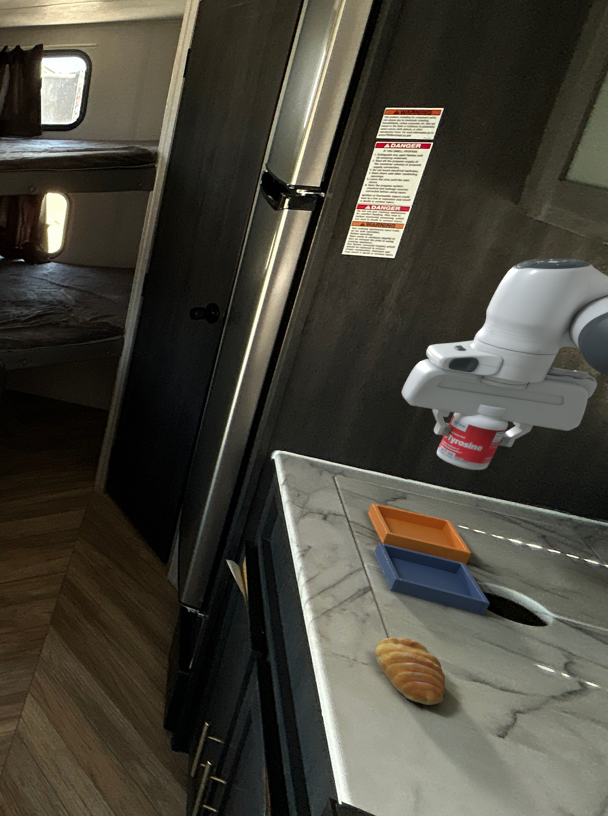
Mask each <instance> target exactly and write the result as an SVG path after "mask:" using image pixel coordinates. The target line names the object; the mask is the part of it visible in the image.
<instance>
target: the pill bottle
mask: <svg viewBox="0 0 608 816" xmlns="http://www.w3.org/2000/svg"><path fill="white" fill-rule="evenodd" d="M505 410H506V408H500V407H494V406H488V405H480V406H479V408H478V413H480V414H479V415H467V414H461V413H455V412H453V415H452V417H451V419H450V421H449V424H450V426H451V427H452V430H451V432H449V433H450V435H449V436H444V435H443V436H442V439H441V441H440V443H439V445H438V447H437V450H436V455H437V456H438V458H439V459H441V460H442V461H444V462H445V463H449V464H451V465H453V466H456V467H459V468H462V469H466V470H473V471H480V470H481V471H482V470H485V469H486V468H488V466H489V465H490V463H491V461H492V459H493V457H494V455H495V453H496V451H497V450H498V447H499V446H500V445H499V443H500V441H501V439H502V437H503V435H504V433H505V432H507V429H508V427H509V423H508V422H509V421H504V420H500V419H499V416H502V415H504V412H505Z"/></svg>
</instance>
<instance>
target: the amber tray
mask: <svg viewBox="0 0 608 816" xmlns="http://www.w3.org/2000/svg"><path fill="white" fill-rule="evenodd" d="M367 515H368V517H369V519H370V522H371V523H372V525H373V528H374V530H375V532H376V534H377V536H378V538H379V540H380V543H383V544H387V545H391V546H395V547H400V548H404V549H408V550H412V551H416V552H420V553H424V554H428V555H432V556H437V557H441V558H445V559H449V560H453V561H457V562H461V563H465V565H467V563H468V561H469V560H470V557H471V556H472V551H471V550H470V548H469V547H468V545H467V544H466V542H465V541H464V540H463V538H462V536H461V535H460V533H459V531H457V529H456V528H455V526H454V524H453V523H452V522H451V520H450V519H445V518H441V517H436V516H432V515H427V514H423V513H419V512H414V511H410V510H406V509H405V510H404V509H401V508H395V507H391V506H387V505H382V504H378V503H372V502H371V505H370V507H369V509H368V512H367Z"/></svg>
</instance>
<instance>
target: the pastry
mask: <svg viewBox="0 0 608 816" xmlns="http://www.w3.org/2000/svg"><path fill="white" fill-rule="evenodd" d="M374 654H375V659H376V661H377V664H378V665H377V666H379V668H380V669H381V671H382V672H383V674H384V675H385V678H387V679H388V681H389V683H391V685H392V687H393V688H394V689H396V691H398V692H399V693H400V694H402V695H403V697H405V698H406V699H408V700H409V701H412V702H416V703H420V704H422V705H426V706H434V705H436V704H440V703H442V702H443V701H444V700H443V699H444V695H445V693H446V690H445V686H446V676H445V674H444V672H443V669H442V664H441V662H440V661H439V659H438V658H437V656H435V655H433V654H431V653H430V652H429V651H428V648H427V647H426V646H425V645H424V644H422V643H420V642H419V641H417V640H413V639H410V638H408V637H394V636H393V637H387V638H384V639H382V640H379V641H378V642H377V643H376V647H375V651H374Z"/></svg>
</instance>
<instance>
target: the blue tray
mask: <svg viewBox="0 0 608 816" xmlns="http://www.w3.org/2000/svg"><path fill="white" fill-rule="evenodd" d="M373 555H374V557H375V559H376V562H377V564H378V566H379V568H380V571H381V573H382V575H383V577H384V580H385V582H386V584H387V586H388V589H389V590H390V591H391V592H395V593H399V594H401V595H405V596H409V597H413V598H417V599H420V600H424V601H428V602H431V603H436V604H439V605H443V606H446V607H451V608H454V609H457V610H462V611H466V612H469V613H472V614H475V615H481V616H484V615H485V613H486V612H487V610H488V607H489V606H490V604H491V603H490V601H489V600H488V598H487V596H486V595H485V593H484V592H483V590H482V588H481V587H480V585H479V584H478V582H477V581H476V579H475V577H474V576H473V574H472V573H471V572H470V570H469V568H468V566H467V564H465V563H461V562H457V561H453V560H449V559H445V558H441V557H437V556H432V555H428V554H424V553H420V552H416V551H412V550H408V549H404V548H400V547H395V546H391V545H387V544H383V543H382V542H378V543H377V545H376V548H375V549H374V552H373Z"/></svg>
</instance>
